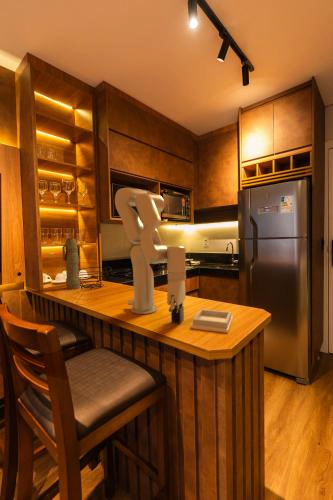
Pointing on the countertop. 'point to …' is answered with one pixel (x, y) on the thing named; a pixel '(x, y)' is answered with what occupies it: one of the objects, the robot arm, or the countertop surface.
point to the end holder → (212, 320)
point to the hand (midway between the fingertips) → (177, 319)
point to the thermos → (71, 263)
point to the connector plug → (181, 311)
